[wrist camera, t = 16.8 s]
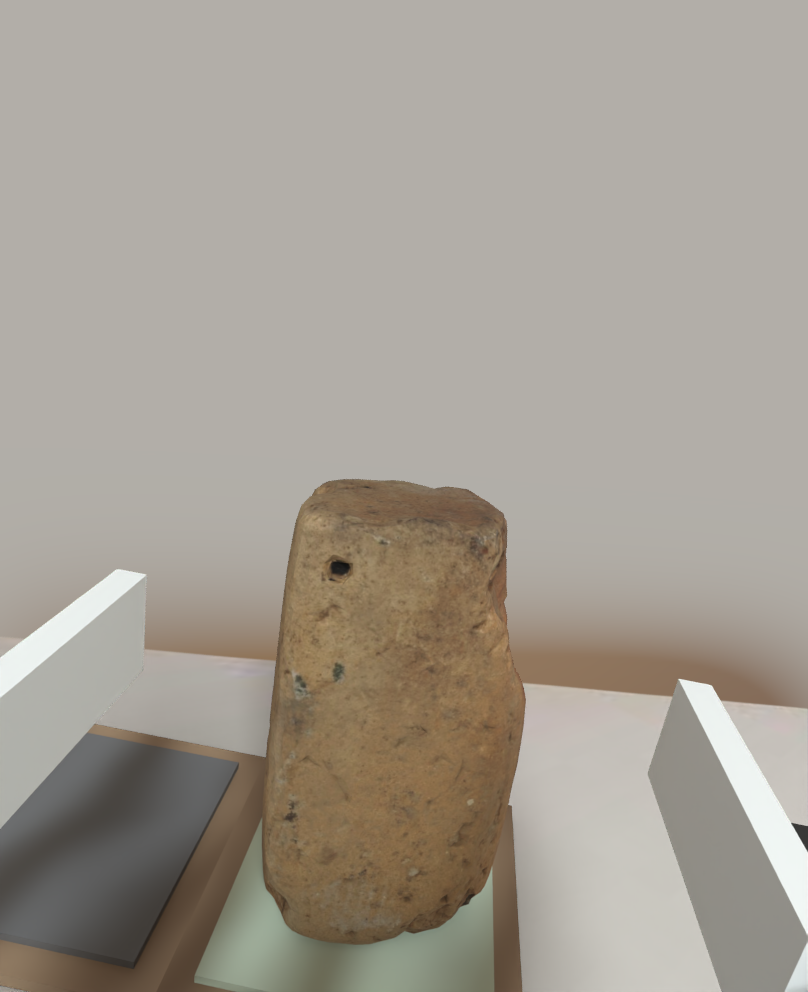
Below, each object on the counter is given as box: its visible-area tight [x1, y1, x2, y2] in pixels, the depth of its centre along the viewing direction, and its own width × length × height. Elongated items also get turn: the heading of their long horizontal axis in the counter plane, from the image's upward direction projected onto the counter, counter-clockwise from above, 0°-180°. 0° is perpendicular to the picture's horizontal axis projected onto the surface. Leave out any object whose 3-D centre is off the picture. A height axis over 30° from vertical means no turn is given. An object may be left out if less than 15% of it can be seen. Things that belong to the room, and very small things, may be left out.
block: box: [262, 479, 526, 945], centre depth 30 cm, size 11×8×20 cm
